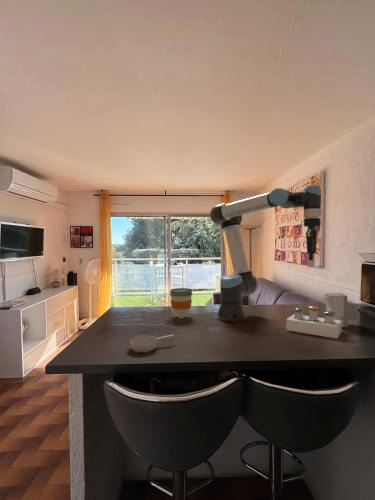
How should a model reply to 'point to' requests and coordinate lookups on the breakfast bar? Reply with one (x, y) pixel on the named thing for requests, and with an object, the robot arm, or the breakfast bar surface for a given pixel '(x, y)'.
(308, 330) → the panel
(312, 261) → the robot arm
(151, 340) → the small pan
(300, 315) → the plunger left
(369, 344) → the breakfast bar surface
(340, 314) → the circuit breaker
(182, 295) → the reusable coffee cup
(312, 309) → the plunger mid
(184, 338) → the breakfast bar surface
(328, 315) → the plunger right
